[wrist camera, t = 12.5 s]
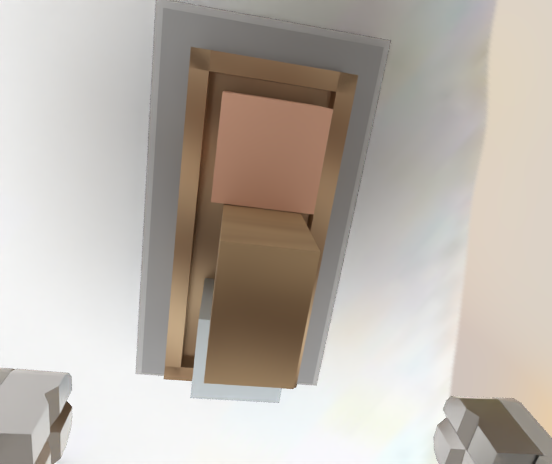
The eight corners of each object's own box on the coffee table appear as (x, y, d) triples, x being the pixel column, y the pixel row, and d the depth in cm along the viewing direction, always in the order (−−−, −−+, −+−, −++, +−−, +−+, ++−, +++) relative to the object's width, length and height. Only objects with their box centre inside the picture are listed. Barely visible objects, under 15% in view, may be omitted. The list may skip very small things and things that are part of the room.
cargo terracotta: (225, 90, 18) (222, 92, 15) (313, 104, 19) (333, 109, 15) (215, 179, 20) (210, 202, 16) (299, 190, 20) (313, 214, 17)
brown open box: (196, 51, 19) (162, 21, 10) (344, 76, 20) (431, 68, 11) (170, 350, 24) (133, 505, 15) (290, 359, 25) (321, 510, 16)
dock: (165, 7, 21) (154, -4, 18) (374, 45, 23) (394, 39, 20) (144, 348, 27) (134, 378, 25) (309, 360, 29) (317, 389, 26)
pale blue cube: (204, 278, 21) (198, 319, 18) (282, 285, 22) (293, 326, 18) (197, 345, 23) (190, 397, 19) (271, 351, 23) (279, 402, 19)
